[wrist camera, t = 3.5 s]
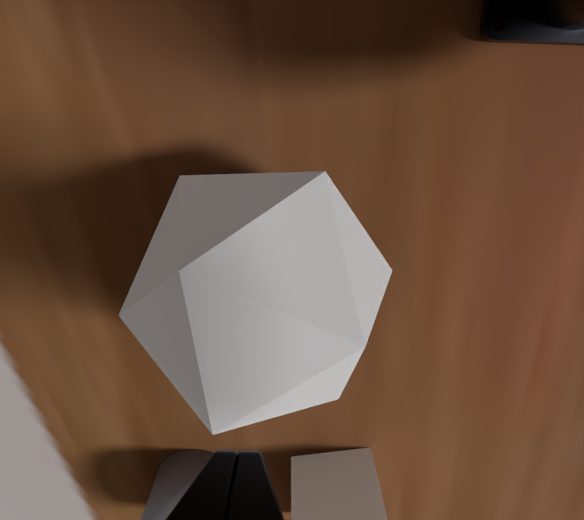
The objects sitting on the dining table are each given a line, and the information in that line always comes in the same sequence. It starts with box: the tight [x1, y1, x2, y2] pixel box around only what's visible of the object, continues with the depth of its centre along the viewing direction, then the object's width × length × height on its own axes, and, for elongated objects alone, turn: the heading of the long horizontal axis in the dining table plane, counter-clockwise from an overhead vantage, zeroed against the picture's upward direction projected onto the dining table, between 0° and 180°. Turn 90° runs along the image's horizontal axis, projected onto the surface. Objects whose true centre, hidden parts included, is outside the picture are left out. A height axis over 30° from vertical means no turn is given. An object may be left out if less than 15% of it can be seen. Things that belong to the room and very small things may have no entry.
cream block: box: [291, 447, 388, 520], centre depth 22 cm, size 4×4×4 cm
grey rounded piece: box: [141, 449, 214, 520], centre depth 21 cm, size 4×4×4 cm
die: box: [119, 171, 392, 435], centre depth 15 cm, size 8×9×10 cm
